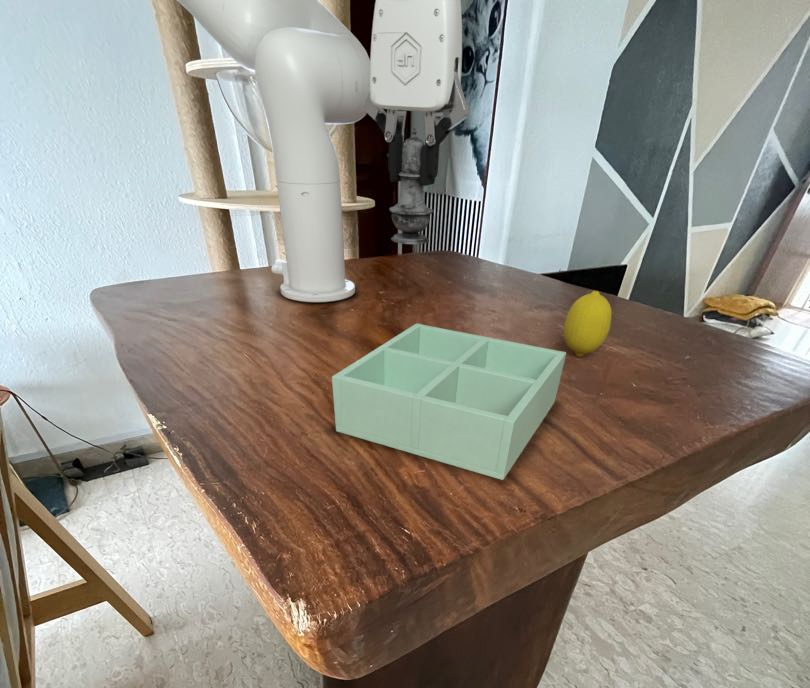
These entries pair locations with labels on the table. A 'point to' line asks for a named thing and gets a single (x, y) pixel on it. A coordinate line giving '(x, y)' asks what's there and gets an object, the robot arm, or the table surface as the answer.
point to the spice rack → (449, 397)
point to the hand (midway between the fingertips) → (412, 181)
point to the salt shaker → (411, 196)
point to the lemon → (587, 323)
